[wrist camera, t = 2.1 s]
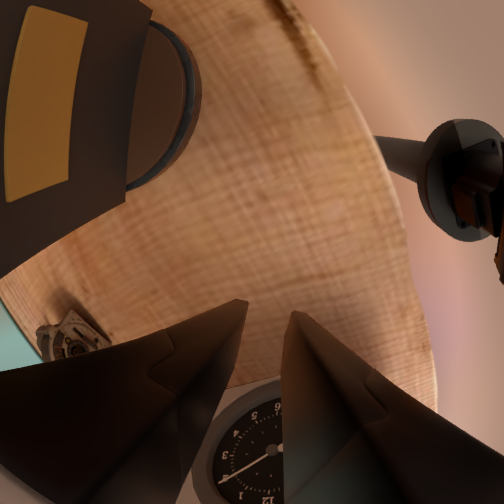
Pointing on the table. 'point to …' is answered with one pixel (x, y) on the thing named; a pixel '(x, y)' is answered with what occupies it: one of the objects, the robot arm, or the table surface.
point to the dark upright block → (78, 114)
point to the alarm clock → (241, 450)
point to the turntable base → (189, 111)
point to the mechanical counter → (68, 338)
